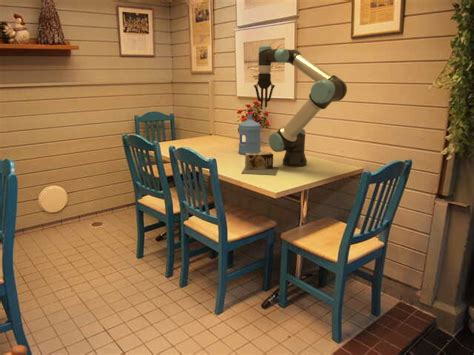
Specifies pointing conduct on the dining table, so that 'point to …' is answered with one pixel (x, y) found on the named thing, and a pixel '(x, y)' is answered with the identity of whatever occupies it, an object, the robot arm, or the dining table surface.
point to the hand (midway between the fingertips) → (263, 112)
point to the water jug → (250, 136)
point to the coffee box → (258, 160)
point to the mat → (261, 171)
